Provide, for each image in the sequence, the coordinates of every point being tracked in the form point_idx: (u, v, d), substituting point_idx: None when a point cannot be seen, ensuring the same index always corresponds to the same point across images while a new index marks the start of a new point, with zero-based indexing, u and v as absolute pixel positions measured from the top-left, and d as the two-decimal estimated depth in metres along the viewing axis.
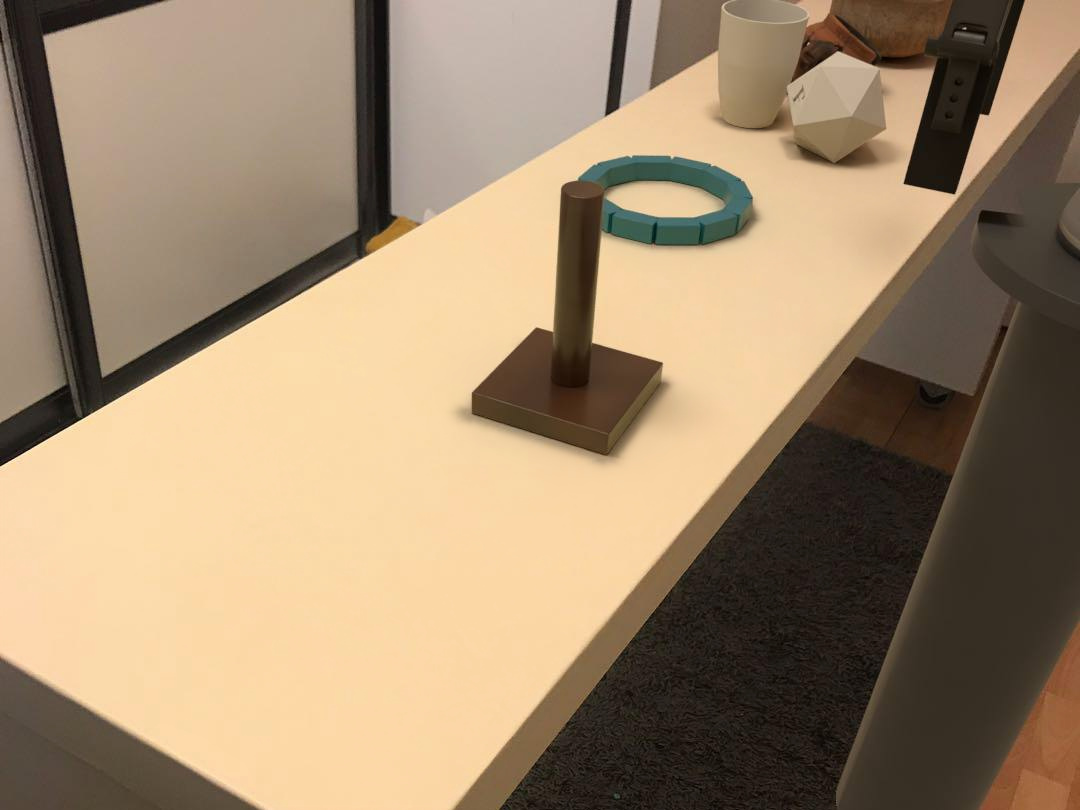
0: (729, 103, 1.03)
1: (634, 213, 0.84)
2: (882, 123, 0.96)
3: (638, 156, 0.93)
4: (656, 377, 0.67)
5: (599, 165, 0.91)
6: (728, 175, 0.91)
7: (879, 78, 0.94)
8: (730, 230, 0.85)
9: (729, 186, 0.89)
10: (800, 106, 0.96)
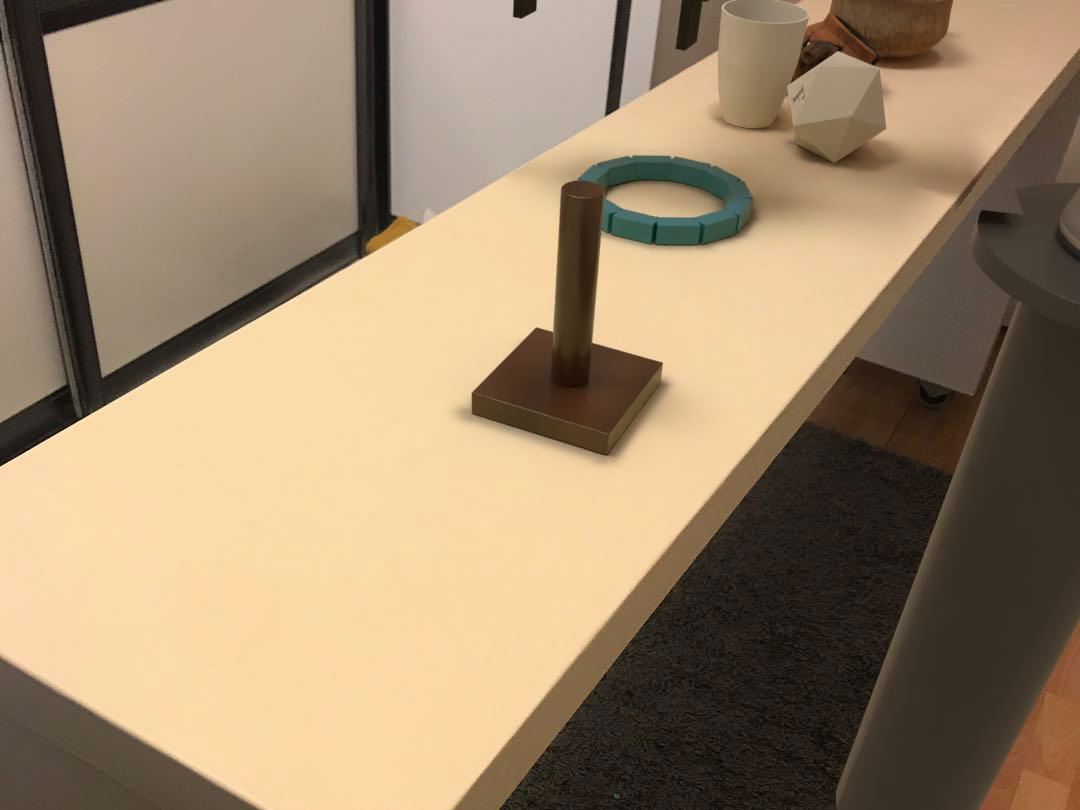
0: (729, 103, 1.03)
1: (634, 213, 0.84)
2: (882, 123, 0.96)
3: (638, 156, 0.93)
4: (656, 377, 0.67)
5: (599, 165, 0.91)
6: (728, 175, 0.91)
7: (879, 78, 0.94)
8: (730, 230, 0.85)
9: (729, 186, 0.89)
10: (800, 106, 0.96)
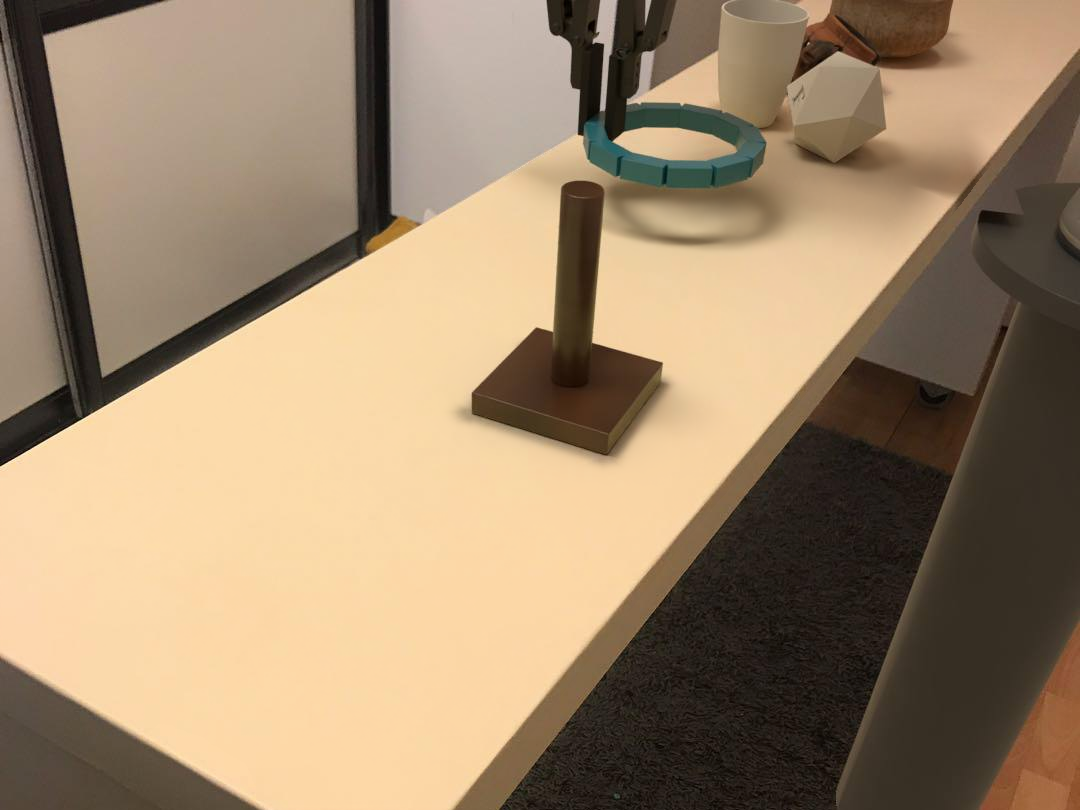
0: (729, 103, 1.03)
1: (643, 156, 0.81)
2: (882, 123, 0.96)
3: (647, 103, 0.90)
4: (656, 377, 0.67)
5: None
6: (740, 121, 0.88)
7: (879, 78, 0.94)
8: (743, 174, 0.82)
9: (741, 131, 0.86)
10: (800, 106, 0.96)
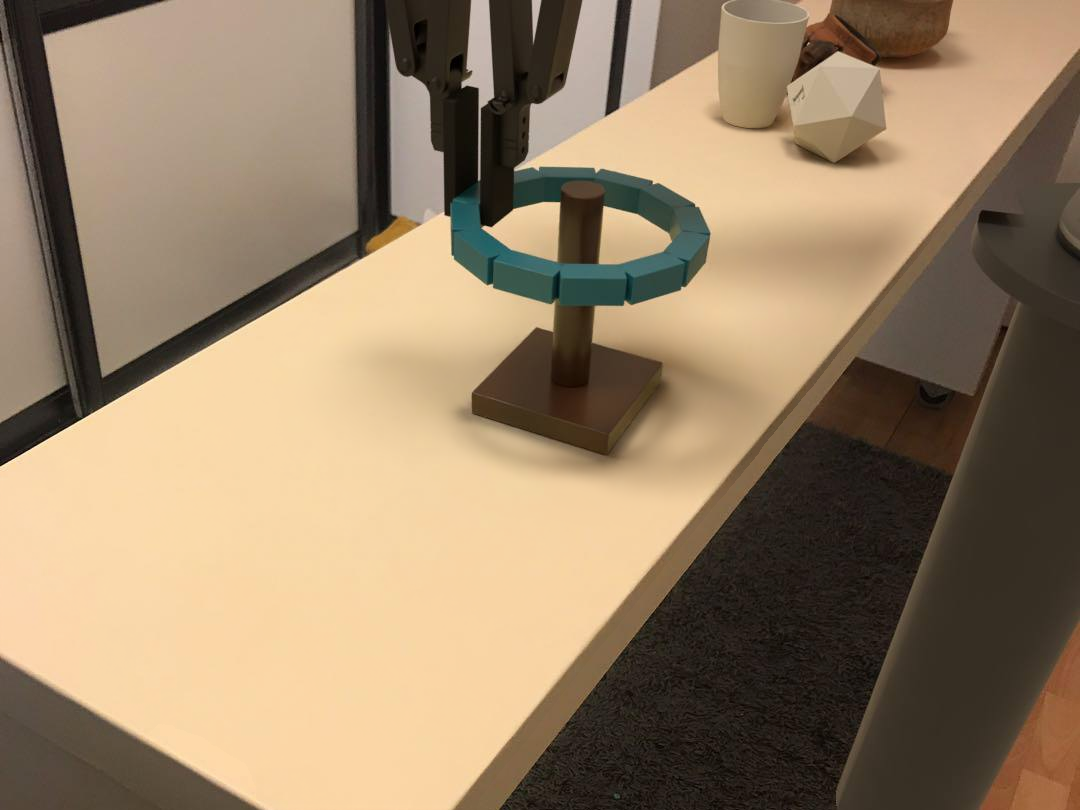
0: (729, 103, 1.03)
1: (527, 257, 0.55)
2: (882, 123, 0.96)
3: (547, 168, 0.64)
4: (656, 377, 0.67)
5: None
6: (676, 198, 0.62)
7: (879, 78, 0.94)
8: (674, 284, 0.56)
9: (676, 215, 0.60)
10: (800, 106, 0.96)
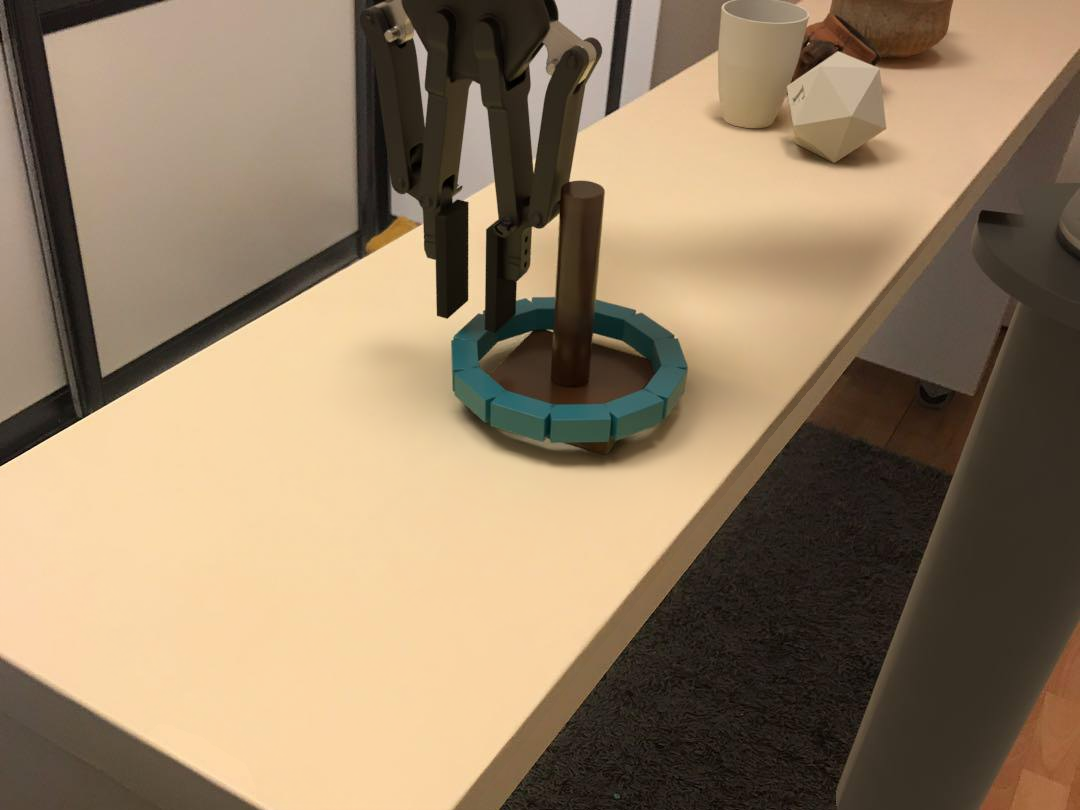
0: (729, 103, 1.03)
1: (521, 398, 0.61)
2: (882, 123, 0.96)
3: (539, 299, 0.70)
4: None
5: None
6: (657, 329, 0.68)
7: (879, 78, 0.94)
8: (654, 419, 0.62)
9: (657, 348, 0.66)
10: (800, 106, 0.96)
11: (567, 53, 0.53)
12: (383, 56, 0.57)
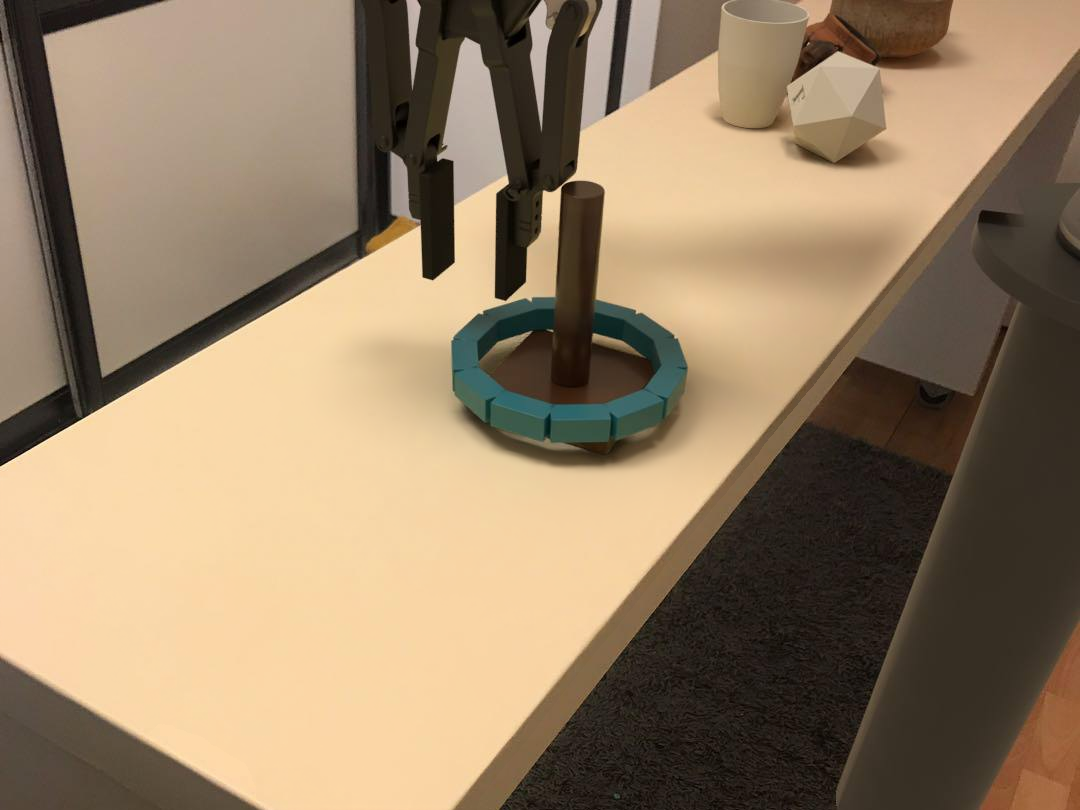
0: (729, 103, 1.03)
1: (521, 398, 0.61)
2: (882, 123, 0.96)
3: (539, 299, 0.70)
4: None
5: (485, 315, 0.68)
6: (657, 329, 0.68)
7: (879, 78, 0.94)
8: (654, 419, 0.62)
9: (657, 348, 0.66)
10: (800, 106, 0.96)
11: (566, 4, 0.52)
12: (374, 10, 0.56)
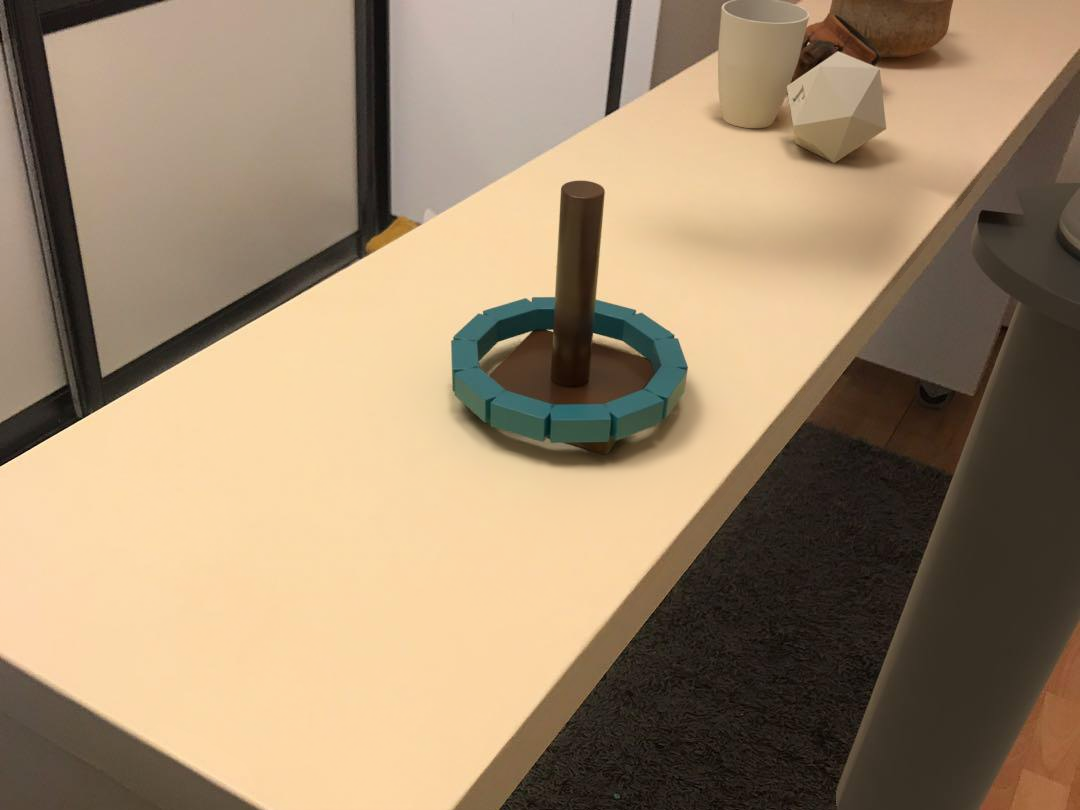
0: (729, 103, 1.03)
1: (521, 398, 0.61)
2: (882, 123, 0.96)
3: (539, 299, 0.70)
4: None
5: (485, 315, 0.68)
6: (657, 329, 0.68)
7: (879, 78, 0.94)
8: (654, 419, 0.62)
9: (657, 348, 0.66)
10: (800, 106, 0.96)
11: None
12: None
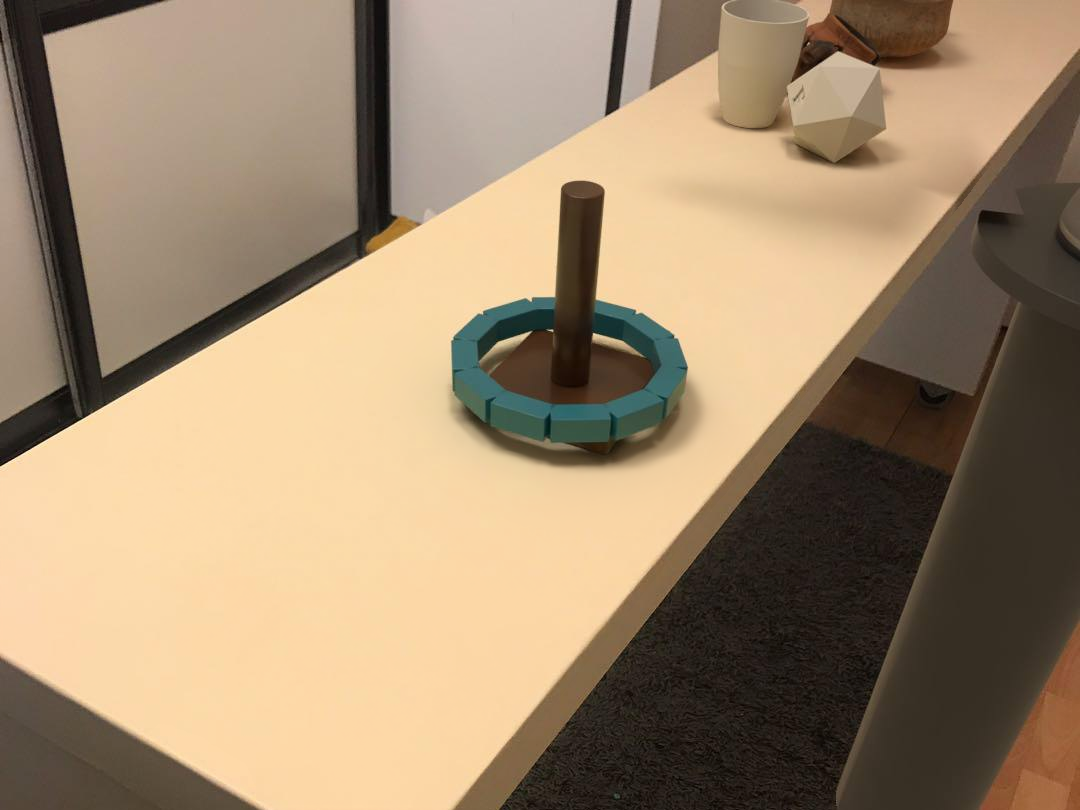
0: (729, 103, 1.03)
1: (521, 398, 0.61)
2: (882, 123, 0.96)
3: (539, 299, 0.70)
4: None
5: (485, 315, 0.68)
6: (657, 329, 0.68)
7: (879, 78, 0.94)
8: (654, 419, 0.62)
9: (657, 348, 0.66)
10: (800, 106, 0.96)
11: None
12: None
